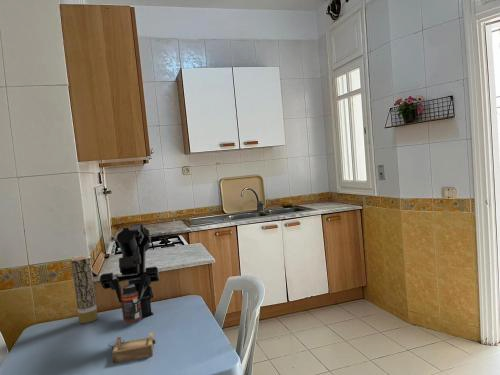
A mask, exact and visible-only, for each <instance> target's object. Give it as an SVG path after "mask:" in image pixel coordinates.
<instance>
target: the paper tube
mask: <svg viewBox="0 0 500 375" xmlns="http://www.w3.org/2000/svg"><path fill="white" fill-rule="evenodd" d="M71 266H72V267H71V268H72V274H73V276H72V277H73V284H74V292H75V300H76V301H75V302H76V309H77V316H78V317H77V318H78V322H79V323H80V324H88V323H92V322H95V321H96V320H97V319H98V310H97V299H96V292H95V283H94V274H93V267H92V266H93V265H92V257H91V254H83V255H78V256H74V257H72V258H71Z"/></svg>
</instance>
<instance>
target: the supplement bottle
mask: <svg viewBox="0 0 500 375" xmlns="http://www.w3.org/2000/svg"><path fill="white" fill-rule="evenodd" d="M120 304H121V310H122V311H121V312H122V319H123V322H124V323H127V324H130V323H135V322H139V321H140V320H142V319H143V318H142V311H141V303H140V300H139V292H138V291H137V290H136V288H135V285H134V284H131V285H129V284H127V285H124V286H122V292H121V303H120Z"/></svg>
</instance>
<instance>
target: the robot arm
mask: <svg viewBox="0 0 500 375" xmlns="http://www.w3.org/2000/svg"><path fill="white" fill-rule="evenodd" d="M116 241H117V244H118V246H119V249H120V251H121V252H122V255H121V257H119V258H118V268H119V272H120V274H121V275H117V274H114V272H108V273H107V272H106V273H101V275H100V276H99V283H100V284H101V286H102V289H104V290H107V289H111V290H112V291H115V294H116V297H117V300H118V302H119V304H121V294H122V287H121V285H120V282H128V285H131V284H134V285H135V288H136V290H137V291H138V292H139V300H140V303H141V311H142V318H141V319H143V318H146V317H149V316H152V315H154V312H153V311H152V305H151V300H153V299H154V290H153V287H152V286H151V284H152V283H154V282H159V281H160V272H159V268H158V267H157V266H156V265H155V266H148V267H146V252H147V251H148V250H149V249H150V244H151V243H152V240H151V233H150V230H149V229H147V228H146V227H145V226H144V224H143V223H135V224H134V223H133V224H131V225H130V227H123V228H122V230H121V231H120V232H119V233H118V234H117V235H116Z"/></svg>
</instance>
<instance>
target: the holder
mask: <svg viewBox="0 0 500 375" xmlns="http://www.w3.org/2000/svg"><path fill="white" fill-rule="evenodd" d="M156 342H157V341H156V339H155V336H154V331H153V330H152V331H150V332H149V336H148V337H143V338H139V339H134V340H130V341H122V337H121V336H119V337H117V339H116V341H115V344H114V346H112V348H111V350H112V352H111V356H112V363H113V364H116V363H117V364H118V363H122V362H127V361H133V360H138V359H142V358H146V357H147V358H148V357H152V356H153V355H154V345H155V344H156Z"/></svg>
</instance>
